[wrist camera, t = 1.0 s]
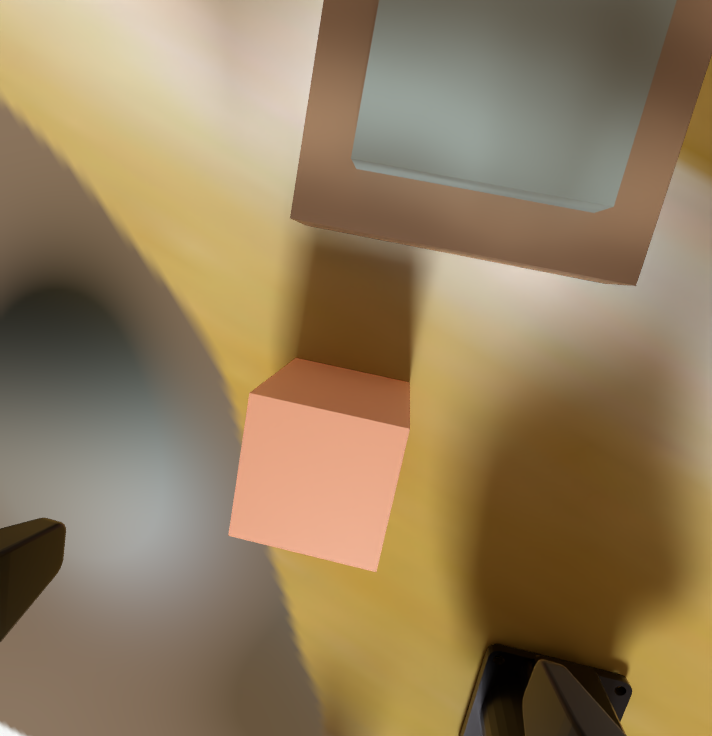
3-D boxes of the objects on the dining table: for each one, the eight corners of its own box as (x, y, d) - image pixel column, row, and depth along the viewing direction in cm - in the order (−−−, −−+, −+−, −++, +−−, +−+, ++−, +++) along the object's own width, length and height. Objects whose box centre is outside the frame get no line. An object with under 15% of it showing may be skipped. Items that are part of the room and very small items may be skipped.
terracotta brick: (385, 487, 21) (376, 572, 15) (278, 462, 21) (228, 535, 15) (409, 382, 20) (409, 428, 14) (296, 357, 20) (249, 392, 14)
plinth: (605, 283, 18) (659, 287, 14) (305, 225, 19) (278, 213, 15) (718, -80, 15) (825, -200, 11) (363, -129, 16) (348, -258, 12)
